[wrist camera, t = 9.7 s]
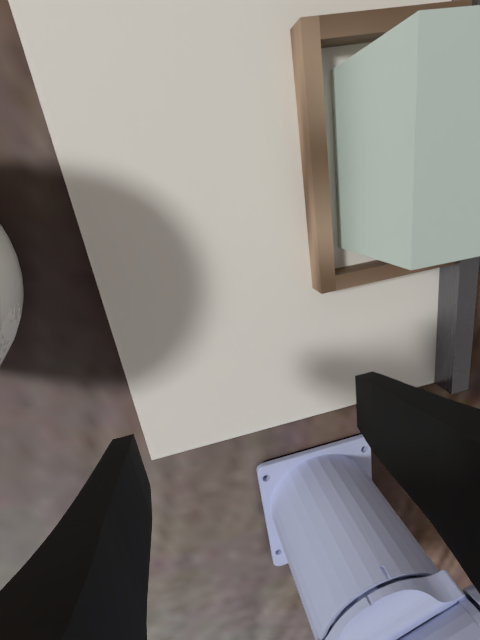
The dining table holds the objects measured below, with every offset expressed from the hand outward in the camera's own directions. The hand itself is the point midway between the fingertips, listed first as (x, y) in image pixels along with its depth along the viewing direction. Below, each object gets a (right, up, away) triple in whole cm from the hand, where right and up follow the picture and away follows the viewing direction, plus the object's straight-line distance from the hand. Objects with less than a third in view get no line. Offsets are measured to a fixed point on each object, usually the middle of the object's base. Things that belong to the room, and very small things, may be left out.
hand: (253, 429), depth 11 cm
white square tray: (+2, +9, +8) cm, 12 cm away
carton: (+7, +11, +7) cm, 15 cm away
